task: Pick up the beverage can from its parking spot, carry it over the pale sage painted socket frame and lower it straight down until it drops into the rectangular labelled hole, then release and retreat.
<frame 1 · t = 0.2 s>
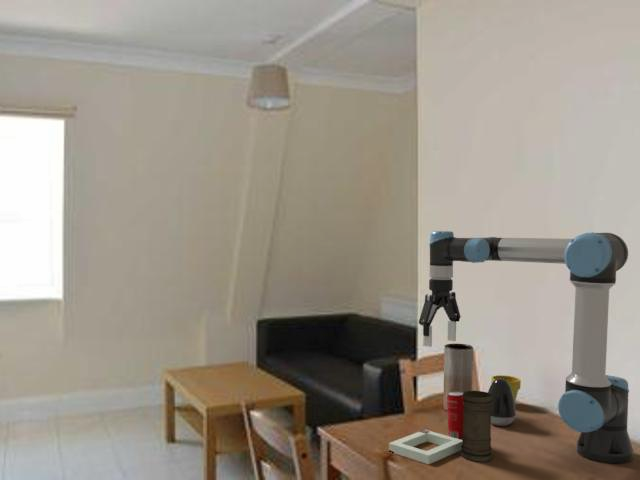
hand: (439, 343, 216), 27 cm above the table, fingers open, 13 cm apart
container: (476, 456, 191), on the table
dark grey domed cylinder: (499, 424, 221), on the table
beverage can: (456, 442, 203), on the table
socket block: (426, 450, 195), on the table
planter: (457, 409, 237), on the table
plant pot: (505, 405, 244), on the table
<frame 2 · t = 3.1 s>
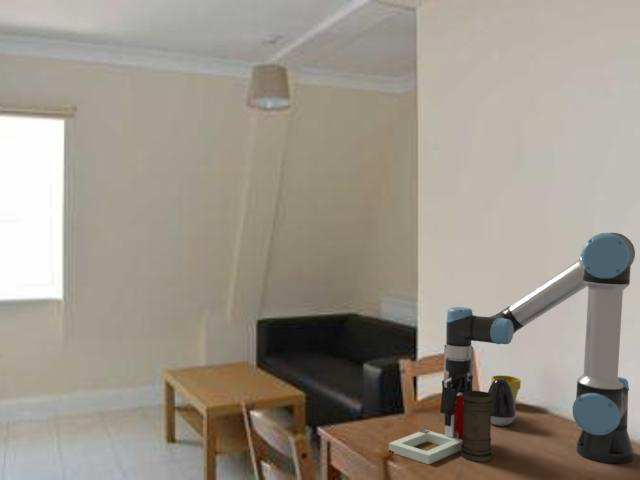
hand: (456, 433, 202), 3 cm above the table, fingers open, 7 cm apart
nothing on the table moved.
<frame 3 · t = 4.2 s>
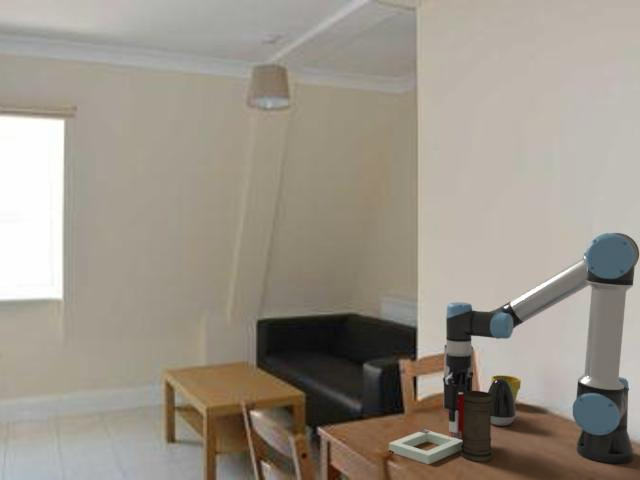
hand: (458, 429, 202), 4 cm above the table, fingers open, 4 cm apart
beverage can: (458, 441, 203), on the table, touching gripper
everything else where it was.
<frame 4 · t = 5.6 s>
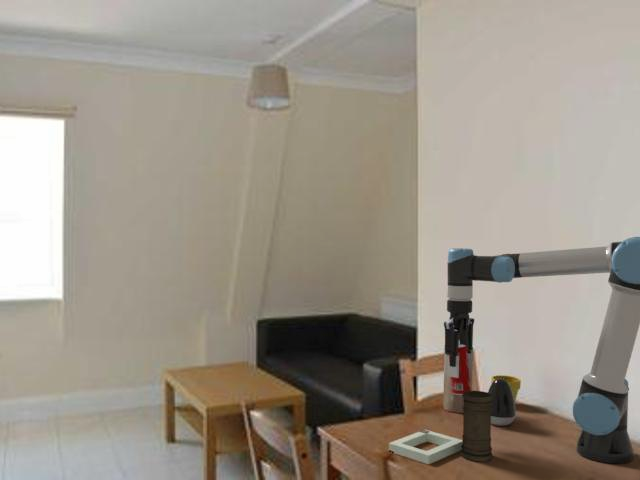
hand: (458, 375, 202), 20 cm above the table
beverage can: (460, 393, 204), point 14 cm above the table, touching gripper
everything else where it was.
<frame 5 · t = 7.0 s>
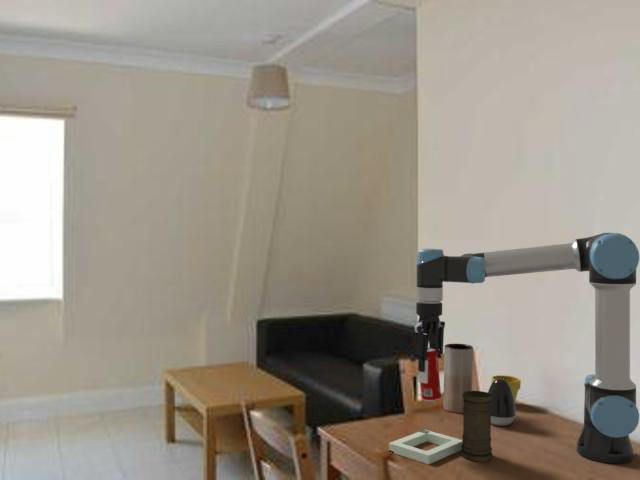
hand: (428, 380, 194), 21 cm above the table
beverage can: (429, 399, 196), point 15 cm above the table, touching gripper
everything else where it was.
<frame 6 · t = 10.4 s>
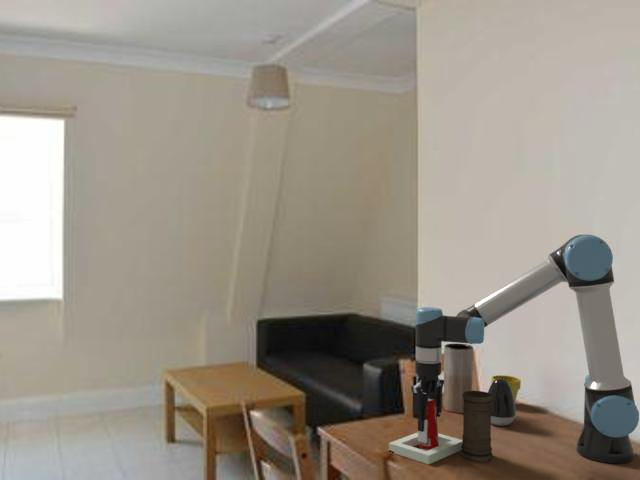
hand: (426, 439, 195), 3 cm above the table, fingers open, 4 cm apart
beverage can: (427, 448, 197), resting in socket block
everything else where it was.
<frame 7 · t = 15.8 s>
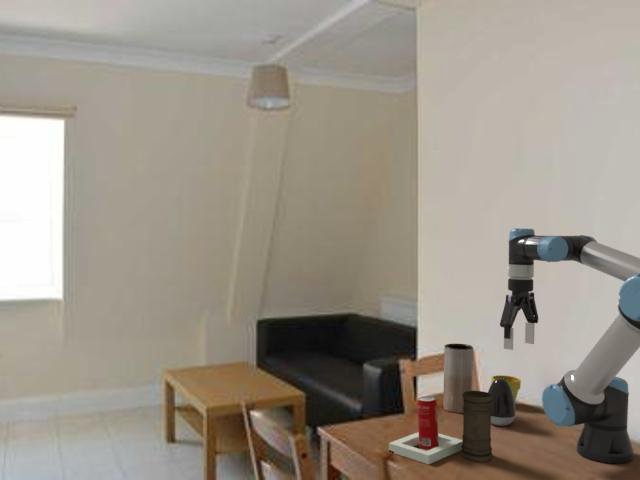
hand: (519, 346, 206), 29 cm above the table, fingers open, 13 cm apart
nothing on the table moved.
at the end: beverage can inside the target area on the socket block (1.8 cm from its centre), point 0.0 cm above the socket block's base; beverage can tilted 0°; the gripper is holding nothing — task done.
